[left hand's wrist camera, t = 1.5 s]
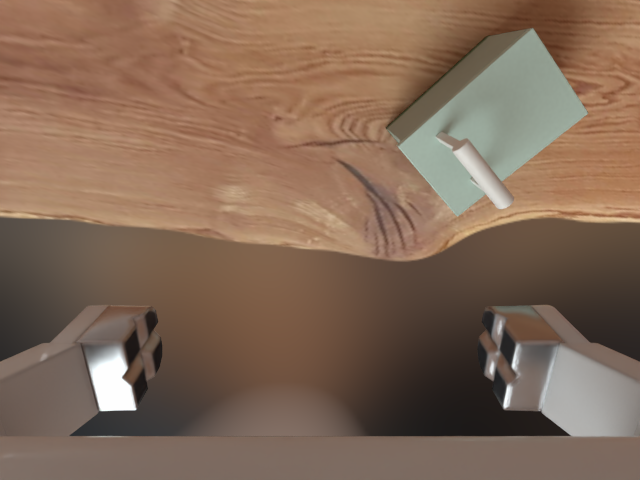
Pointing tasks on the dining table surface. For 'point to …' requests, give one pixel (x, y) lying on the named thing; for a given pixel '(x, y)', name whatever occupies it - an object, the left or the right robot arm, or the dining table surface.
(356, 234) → the dining table surface
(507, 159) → the lid
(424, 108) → the chest
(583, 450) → the left robot arm
